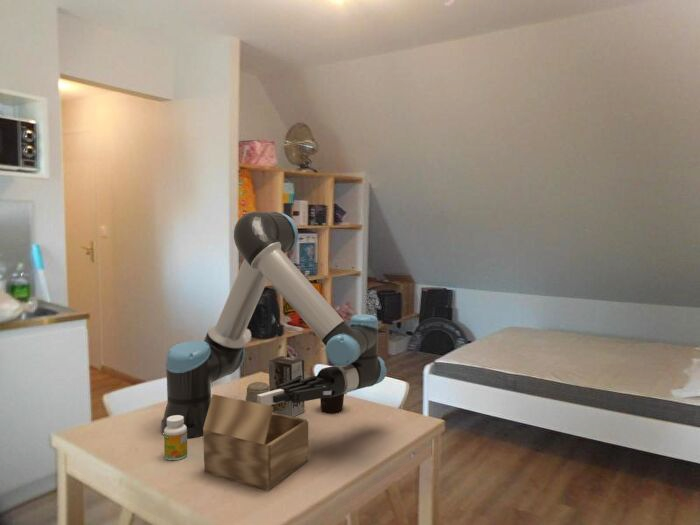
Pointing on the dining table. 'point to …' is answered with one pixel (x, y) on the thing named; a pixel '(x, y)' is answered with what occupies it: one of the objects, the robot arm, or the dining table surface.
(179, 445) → the supplement bottle
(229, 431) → the flap
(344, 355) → the robot arm
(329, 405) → the coffee mug
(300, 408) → the coffee box
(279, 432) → the wooden open box
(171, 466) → the dining table surface
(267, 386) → the carving
